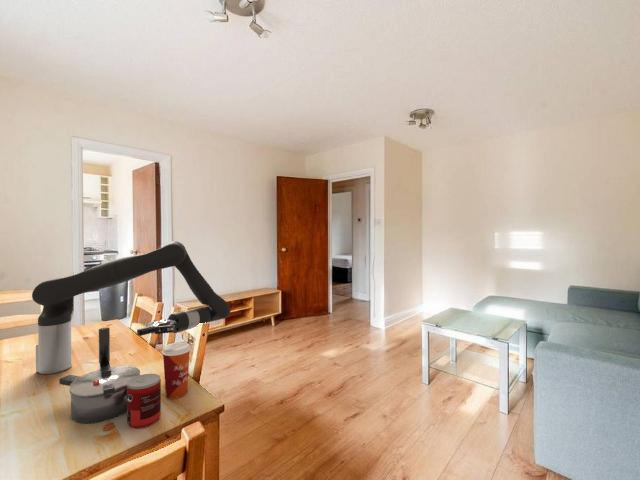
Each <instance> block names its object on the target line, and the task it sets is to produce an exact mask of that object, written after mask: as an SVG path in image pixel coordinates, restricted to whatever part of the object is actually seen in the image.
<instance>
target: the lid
mask: <svg viewBox="0 0 640 480" xmlns="http://www.w3.org/2000/svg"><path fill="white" fill-rule="evenodd" d="M110 332H111V331H110V327H102V328H99V329H98V363H99V369H97V370H93V371H90V372H87V373H86V374H83V375H81V377H79V378H77V379H76V380H74V381H73V382H72V383H71V384H70V386H69V388H68V389H69V394H70V395H71V394H72V395H74V396H79V397H92V396H100V395H106V394H110V393H114V392H115V391H118V390H121V389H123V388H126V387H127V382H128V381H129V380H130V379H132V378H134V377H136V376H139V375H141V370H140V369H139V368H138V367H136V366H132V365H115V366H111V363H110V360H111V358H110V357H111V355H110V354H111V352H110V347H111V345H110V343H111V340H110V339H111V338H110V335H111V334H110Z"/></svg>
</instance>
